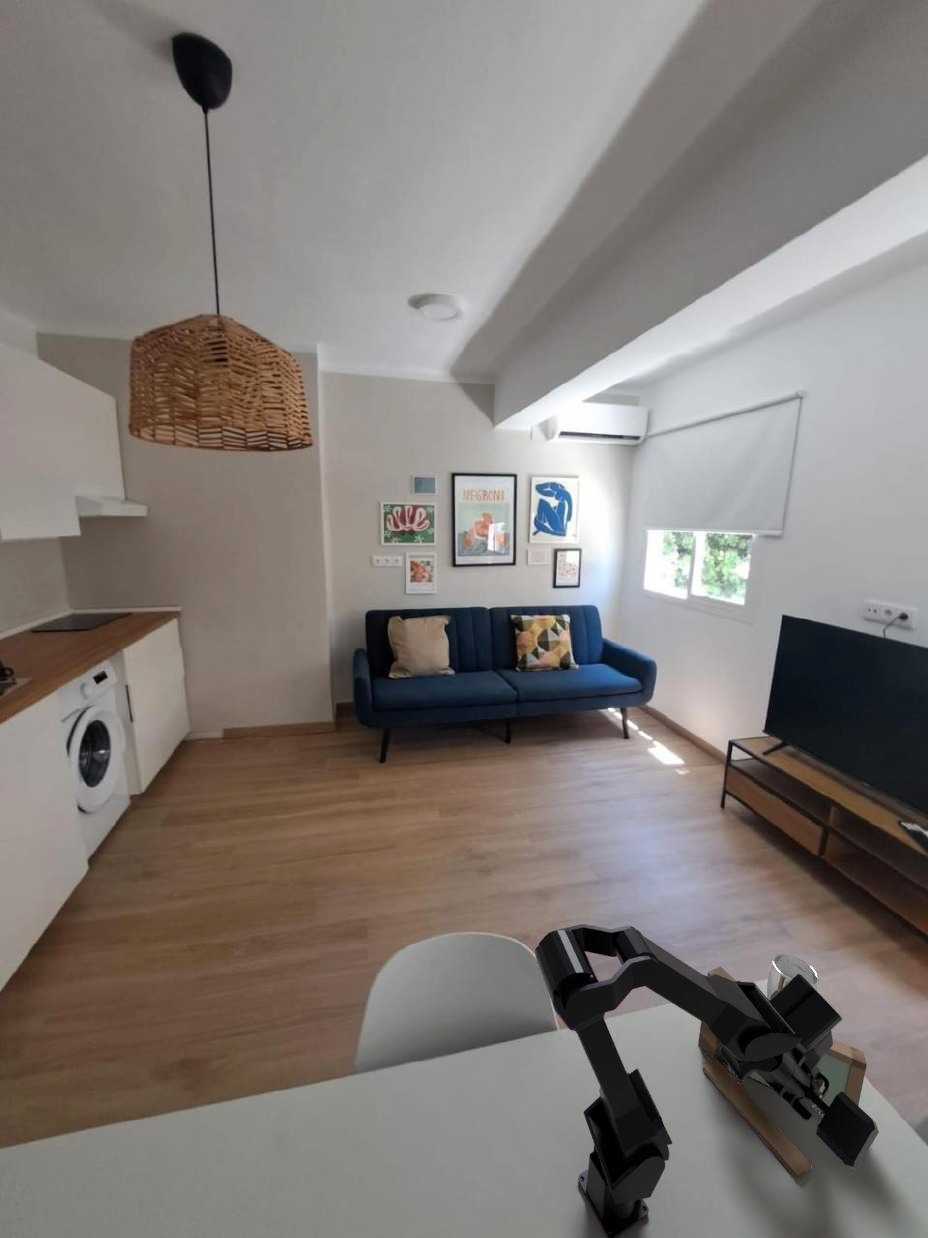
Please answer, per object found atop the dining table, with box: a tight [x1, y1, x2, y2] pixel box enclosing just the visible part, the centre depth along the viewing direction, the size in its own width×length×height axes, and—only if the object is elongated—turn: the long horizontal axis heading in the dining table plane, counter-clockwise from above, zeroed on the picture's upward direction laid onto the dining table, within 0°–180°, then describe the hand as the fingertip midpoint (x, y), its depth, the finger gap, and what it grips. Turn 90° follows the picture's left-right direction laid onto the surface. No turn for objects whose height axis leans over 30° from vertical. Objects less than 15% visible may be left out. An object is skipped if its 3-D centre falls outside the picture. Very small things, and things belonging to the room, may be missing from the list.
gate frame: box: [697, 966, 813, 1181], centre depth 74 cm, size 6×18×14 cm, turn 24°
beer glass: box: [766, 952, 820, 999], centre depth 82 cm, size 7×7×15 cm
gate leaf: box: [749, 1038, 868, 1112], centre depth 75 cm, size 16×2×11 cm, turn 61°
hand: (806, 1090), depth 71 cm, fingers closed
